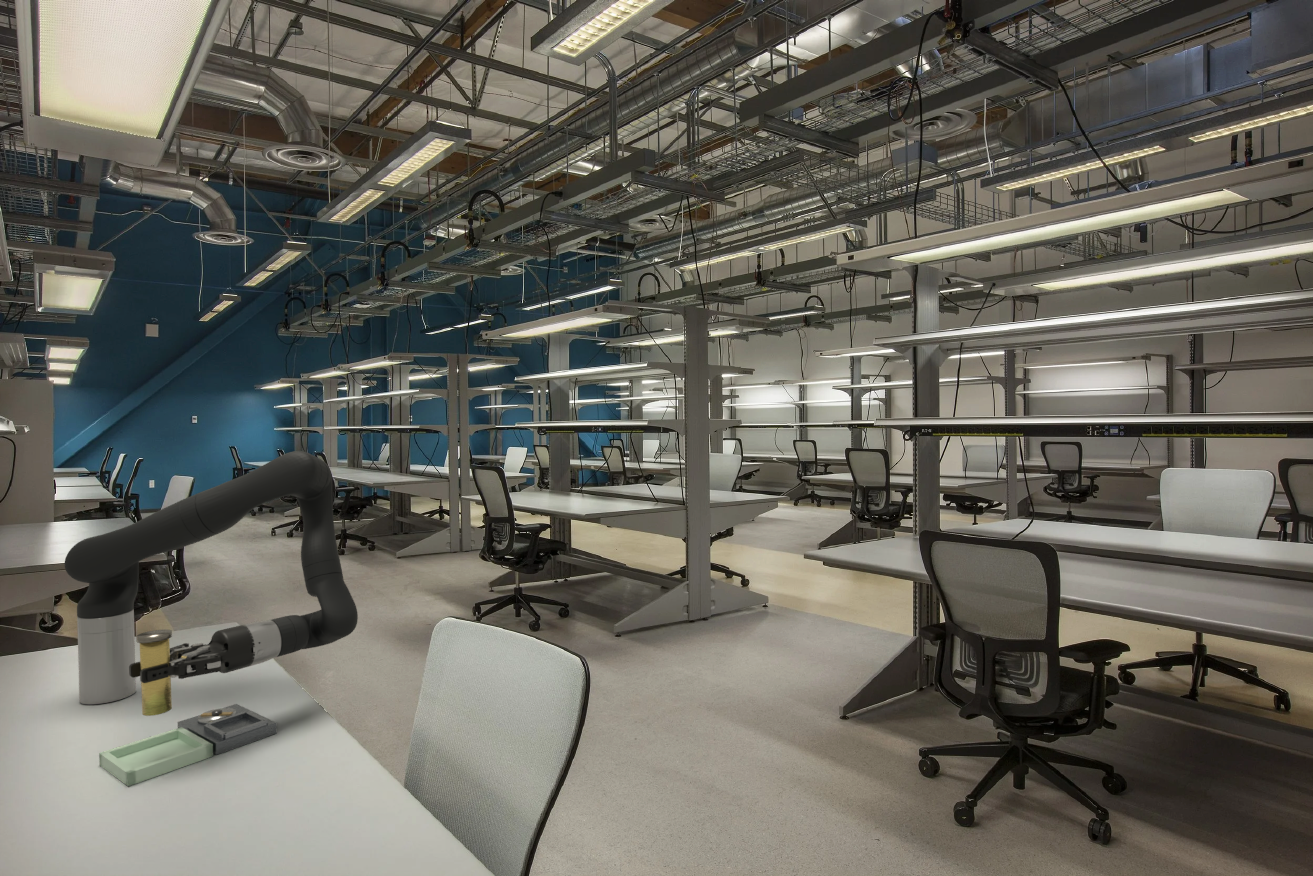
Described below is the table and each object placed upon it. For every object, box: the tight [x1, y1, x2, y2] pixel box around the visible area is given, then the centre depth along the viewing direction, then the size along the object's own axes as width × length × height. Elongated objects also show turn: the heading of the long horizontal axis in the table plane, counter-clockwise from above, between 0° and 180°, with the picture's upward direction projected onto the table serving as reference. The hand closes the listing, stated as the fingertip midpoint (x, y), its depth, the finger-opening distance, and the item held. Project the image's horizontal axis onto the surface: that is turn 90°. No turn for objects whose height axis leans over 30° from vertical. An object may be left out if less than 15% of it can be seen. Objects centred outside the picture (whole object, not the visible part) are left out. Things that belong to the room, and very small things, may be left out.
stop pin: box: [135, 628, 173, 717], centre depth 118 cm, size 5×5×13 cm
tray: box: [98, 727, 214, 787], centre depth 118 cm, size 12×12×2 cm
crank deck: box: [177, 703, 277, 756], centre depth 128 cm, size 15×10×3 cm, turn 55°
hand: (136, 674), depth 116 cm, fingers closed on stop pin, 4 cm apart
